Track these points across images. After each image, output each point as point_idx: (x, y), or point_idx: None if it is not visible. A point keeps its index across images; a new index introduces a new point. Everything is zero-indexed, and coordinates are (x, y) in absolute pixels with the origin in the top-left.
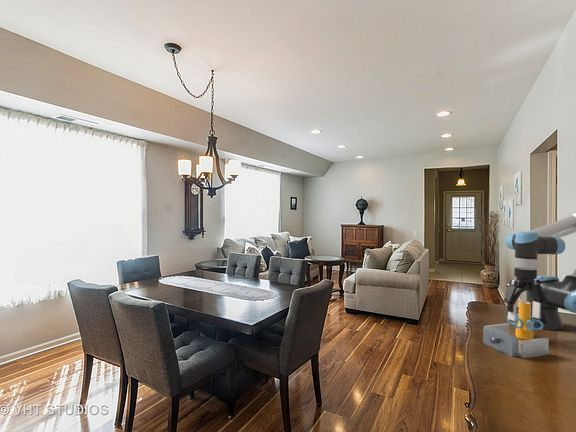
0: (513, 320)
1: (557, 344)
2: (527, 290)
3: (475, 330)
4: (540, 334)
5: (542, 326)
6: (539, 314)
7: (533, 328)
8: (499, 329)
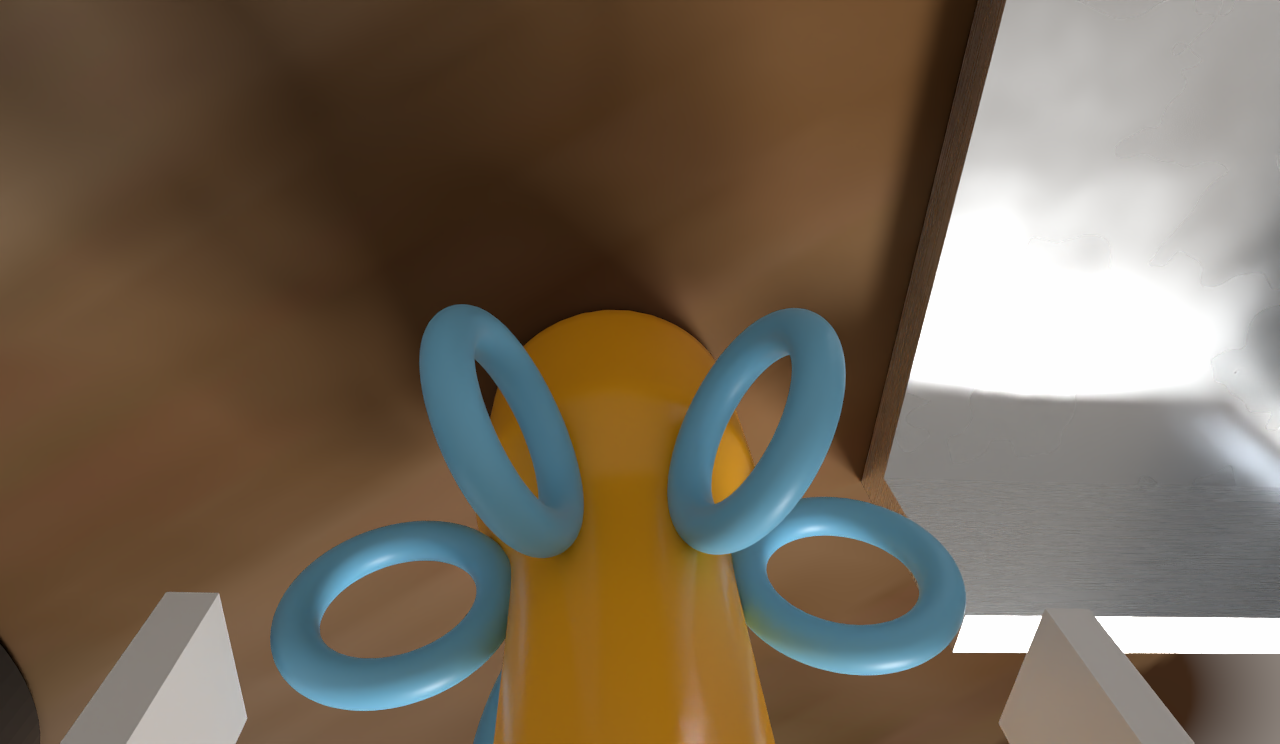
0: (1084, 625)
1: (316, 43)
2: None
3: (987, 719)
4: (186, 434)
5: (469, 318)
6: (143, 686)
7: (809, 312)
8: (1162, 559)
